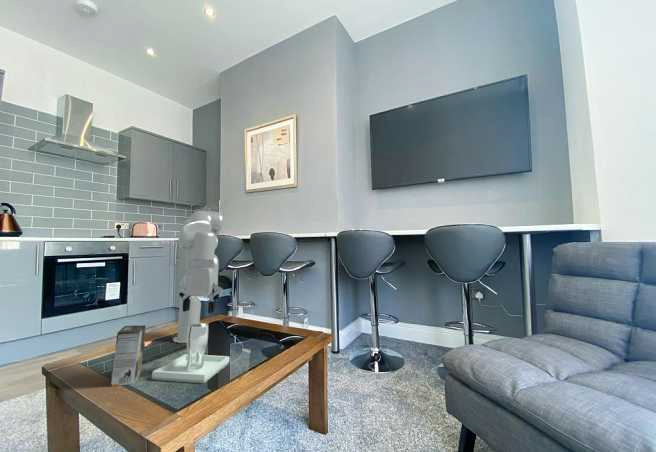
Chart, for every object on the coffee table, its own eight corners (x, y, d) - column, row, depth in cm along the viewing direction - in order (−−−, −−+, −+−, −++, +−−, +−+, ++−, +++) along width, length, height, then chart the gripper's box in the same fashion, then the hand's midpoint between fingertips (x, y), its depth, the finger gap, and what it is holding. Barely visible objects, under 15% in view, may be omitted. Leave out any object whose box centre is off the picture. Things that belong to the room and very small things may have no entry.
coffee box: (118, 375, 92) (124, 325, 94) (141, 373, 95) (146, 324, 97) (109, 387, 84) (116, 332, 86) (134, 383, 86) (140, 330, 88)
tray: (185, 360, 107) (185, 353, 108) (229, 363, 105) (229, 356, 106) (151, 379, 89) (152, 371, 90) (204, 383, 88) (204, 375, 88)
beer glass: (197, 373, 94) (200, 327, 96) (179, 371, 95) (183, 326, 97) (209, 365, 100) (212, 323, 102) (192, 364, 102) (196, 322, 104)
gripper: (174, 264, 100) (169, 312, 98) (219, 265, 98) (215, 315, 96) (186, 263, 107) (182, 308, 105) (229, 265, 105) (225, 311, 103)
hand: (198, 311), depth 101 cm, fingers open, 9 cm apart
